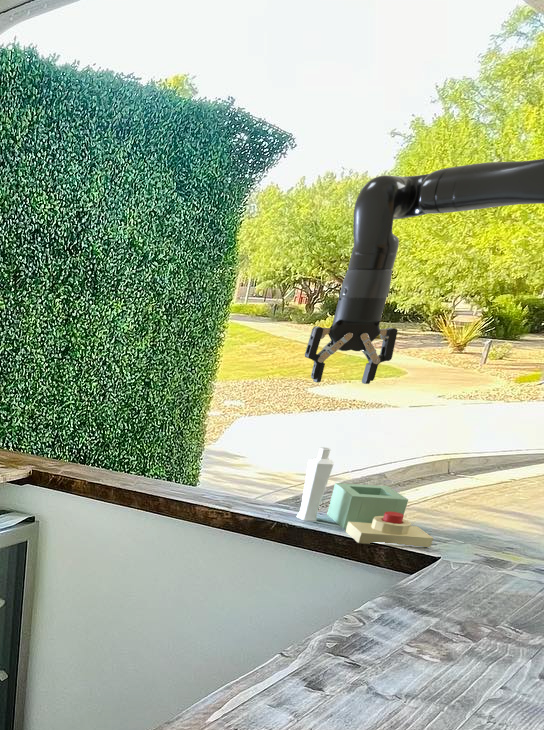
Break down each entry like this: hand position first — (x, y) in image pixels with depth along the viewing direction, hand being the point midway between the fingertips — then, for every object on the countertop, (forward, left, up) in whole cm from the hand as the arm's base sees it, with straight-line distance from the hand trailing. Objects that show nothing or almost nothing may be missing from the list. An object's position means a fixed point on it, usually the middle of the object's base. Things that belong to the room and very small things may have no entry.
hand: (340, 382), depth 150 cm
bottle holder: (-10, +1, -28) cm, 30 cm away
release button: (-11, +11, -25) cm, 29 cm away
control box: (-11, +11, -28) cm, 32 cm away
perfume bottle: (0, 0, -28) cm, 28 cm away
